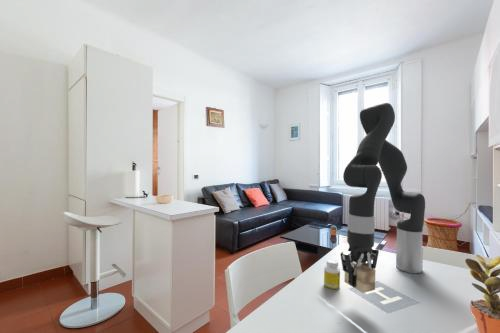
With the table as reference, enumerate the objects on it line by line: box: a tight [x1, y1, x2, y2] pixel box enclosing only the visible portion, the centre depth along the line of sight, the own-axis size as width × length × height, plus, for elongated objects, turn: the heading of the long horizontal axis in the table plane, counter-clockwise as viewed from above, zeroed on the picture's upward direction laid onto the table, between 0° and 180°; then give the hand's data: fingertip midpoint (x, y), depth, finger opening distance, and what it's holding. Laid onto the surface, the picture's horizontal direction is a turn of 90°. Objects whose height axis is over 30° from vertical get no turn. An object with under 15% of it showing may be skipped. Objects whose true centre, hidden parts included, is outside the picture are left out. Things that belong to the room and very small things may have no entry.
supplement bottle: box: [323, 258, 341, 291], centre depth 86 cm, size 5×5×10 cm
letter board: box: [348, 280, 420, 314], centre depth 80 cm, size 15×15×1 cm
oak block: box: [344, 262, 376, 293], centre depth 73 cm, size 5×7×6 cm
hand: (359, 283), depth 73 cm, fingers closed on oak block, 5 cm apart
